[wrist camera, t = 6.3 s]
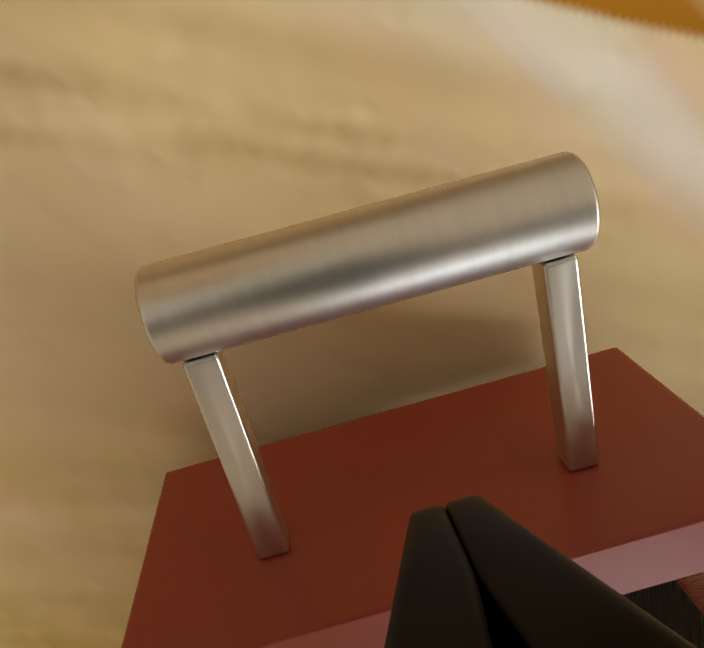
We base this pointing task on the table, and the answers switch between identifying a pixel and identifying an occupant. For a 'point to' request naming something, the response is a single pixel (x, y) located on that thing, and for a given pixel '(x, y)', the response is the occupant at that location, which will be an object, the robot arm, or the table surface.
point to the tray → (410, 427)
